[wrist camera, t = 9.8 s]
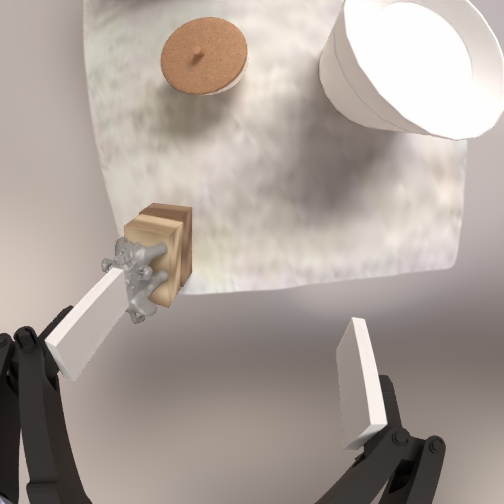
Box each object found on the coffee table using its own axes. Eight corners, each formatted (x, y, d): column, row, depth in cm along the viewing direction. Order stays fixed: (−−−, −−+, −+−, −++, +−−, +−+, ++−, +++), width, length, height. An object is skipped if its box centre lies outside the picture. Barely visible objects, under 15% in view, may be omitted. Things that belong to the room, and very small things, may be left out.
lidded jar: (224, 112, 35) (204, 110, 27) (169, 77, 33) (138, 68, 25) (270, 57, 30) (264, 37, 22) (212, 23, 29) (190, 0, 20)
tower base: (153, 202, 43) (139, 212, 39) (192, 206, 43) (180, 217, 38) (157, 265, 49) (145, 279, 44) (192, 271, 48) (182, 286, 44)
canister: (413, 143, 33) (497, 168, 15) (310, 113, 34) (330, 101, 16) (426, 50, 25) (504, 21, 7) (325, 17, 26) (347, -56, 8)
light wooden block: (141, 213, 39) (123, 226, 34) (182, 222, 38) (168, 235, 34) (142, 279, 44) (129, 295, 40) (179, 289, 44) (168, 307, 40)
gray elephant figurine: (163, 225, 34) (132, 248, 27) (192, 303, 38) (171, 338, 31) (113, 238, 36) (80, 260, 29) (142, 307, 40) (118, 337, 33)
